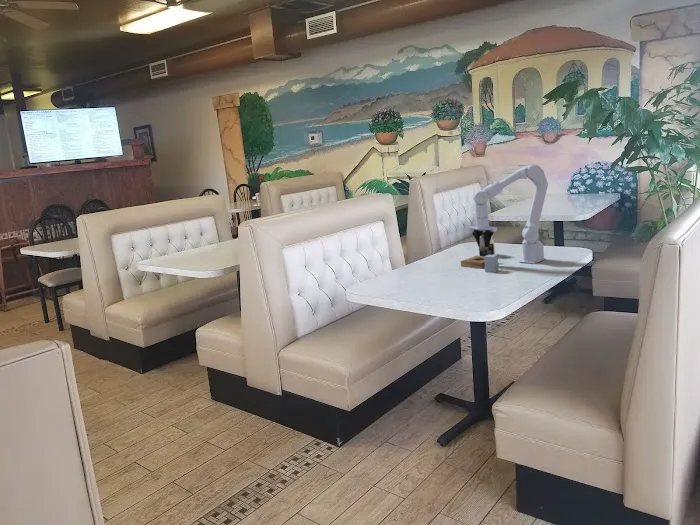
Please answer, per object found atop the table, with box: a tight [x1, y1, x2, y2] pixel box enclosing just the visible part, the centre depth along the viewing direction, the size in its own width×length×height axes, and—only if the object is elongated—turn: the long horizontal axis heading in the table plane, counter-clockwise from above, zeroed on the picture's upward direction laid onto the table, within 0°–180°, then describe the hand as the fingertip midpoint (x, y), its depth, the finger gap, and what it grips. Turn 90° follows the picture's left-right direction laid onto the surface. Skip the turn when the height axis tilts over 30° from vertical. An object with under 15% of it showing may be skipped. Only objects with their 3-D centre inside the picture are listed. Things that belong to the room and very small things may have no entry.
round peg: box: [479, 235, 488, 251], centre depth 259 cm, size 4×4×7 cm
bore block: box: [460, 255, 485, 269], centre depth 264 cm, size 12×12×3 cm
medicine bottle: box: [478, 233, 496, 256], centre depth 280 cm, size 7×7×12 cm
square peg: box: [484, 254, 499, 273], centre depth 249 cm, size 4×4×7 cm
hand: (483, 246), depth 260 cm, fingers closed on round peg, 4 cm apart
